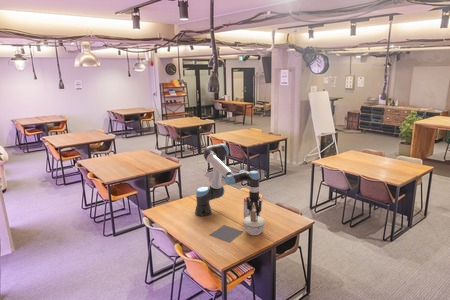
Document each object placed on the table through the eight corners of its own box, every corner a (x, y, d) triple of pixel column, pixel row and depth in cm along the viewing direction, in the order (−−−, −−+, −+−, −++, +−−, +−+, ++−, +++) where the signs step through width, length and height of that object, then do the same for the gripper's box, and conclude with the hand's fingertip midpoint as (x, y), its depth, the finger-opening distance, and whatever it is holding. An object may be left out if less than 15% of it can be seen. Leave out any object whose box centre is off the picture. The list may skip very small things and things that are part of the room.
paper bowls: (263, 238, 238) (263, 228, 236) (243, 236, 241) (243, 227, 239) (264, 228, 253) (264, 219, 251) (245, 227, 256) (245, 218, 254)
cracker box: (247, 223, 262) (247, 200, 257) (243, 220, 267) (243, 197, 262) (260, 218, 270) (260, 196, 264) (256, 216, 275) (256, 194, 269)
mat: (208, 235, 244) (208, 235, 244) (223, 225, 259) (223, 224, 259) (229, 243, 232) (229, 242, 232) (244, 232, 248) (244, 231, 248)
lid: (239, 223, 243) (239, 211, 240) (250, 214, 256) (250, 203, 254) (257, 229, 233) (258, 217, 231) (268, 220, 246) (269, 208, 244)
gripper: (242, 190, 240) (242, 217, 246) (261, 194, 230) (261, 223, 236) (247, 187, 246) (247, 214, 252) (266, 191, 236) (266, 219, 242)
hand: (254, 218), depth 244 cm, fingers closed on lid, 4 cm apart
